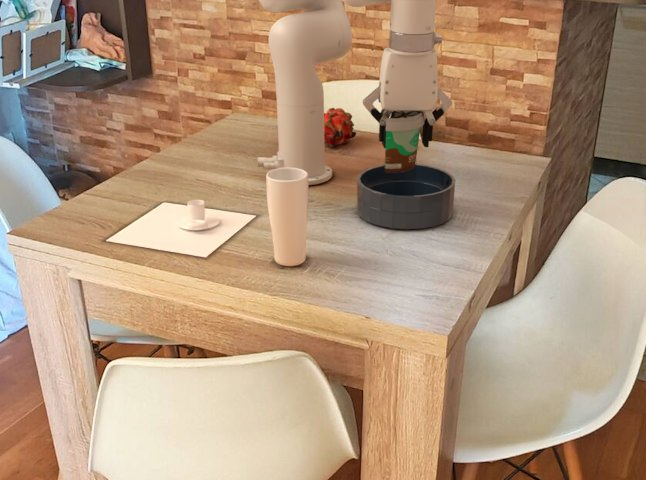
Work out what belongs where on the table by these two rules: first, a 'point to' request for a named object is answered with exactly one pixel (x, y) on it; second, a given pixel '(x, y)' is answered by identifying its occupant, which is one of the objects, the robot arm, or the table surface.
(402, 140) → the food container
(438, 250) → the table surface
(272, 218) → the drinking glass
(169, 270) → the table surface
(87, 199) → the table surface
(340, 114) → the dragon fruit
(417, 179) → the bowl
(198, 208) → the teacup and saucer
